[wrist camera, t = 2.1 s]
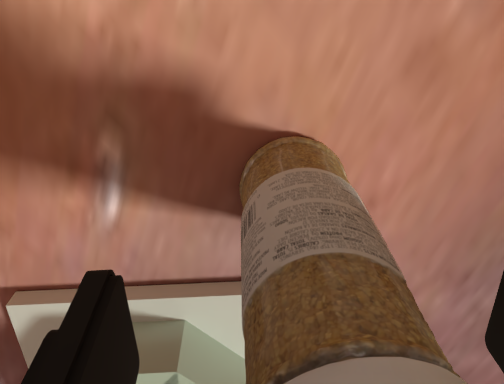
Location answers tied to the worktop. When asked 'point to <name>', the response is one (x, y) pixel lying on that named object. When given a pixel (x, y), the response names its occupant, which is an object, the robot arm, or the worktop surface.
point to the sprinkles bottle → (323, 280)
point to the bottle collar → (156, 329)
